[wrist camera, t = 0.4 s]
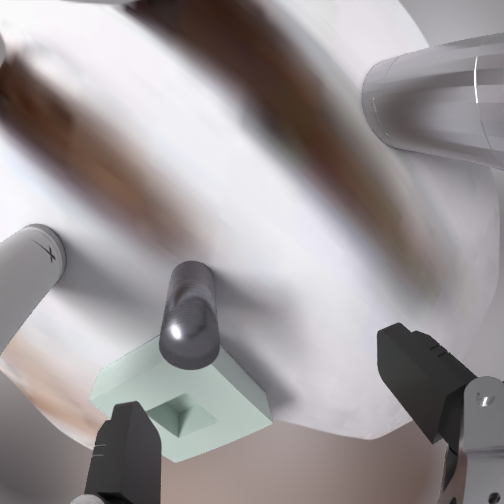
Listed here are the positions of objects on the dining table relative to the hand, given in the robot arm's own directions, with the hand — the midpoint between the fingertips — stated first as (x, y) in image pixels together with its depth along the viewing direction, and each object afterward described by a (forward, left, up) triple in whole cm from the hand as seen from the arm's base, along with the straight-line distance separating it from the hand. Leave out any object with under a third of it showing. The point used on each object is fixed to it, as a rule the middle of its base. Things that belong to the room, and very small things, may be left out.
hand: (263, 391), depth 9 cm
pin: (+5, +3, -20) cm, 21 cm away
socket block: (+14, +13, -20) cm, 28 cm away
